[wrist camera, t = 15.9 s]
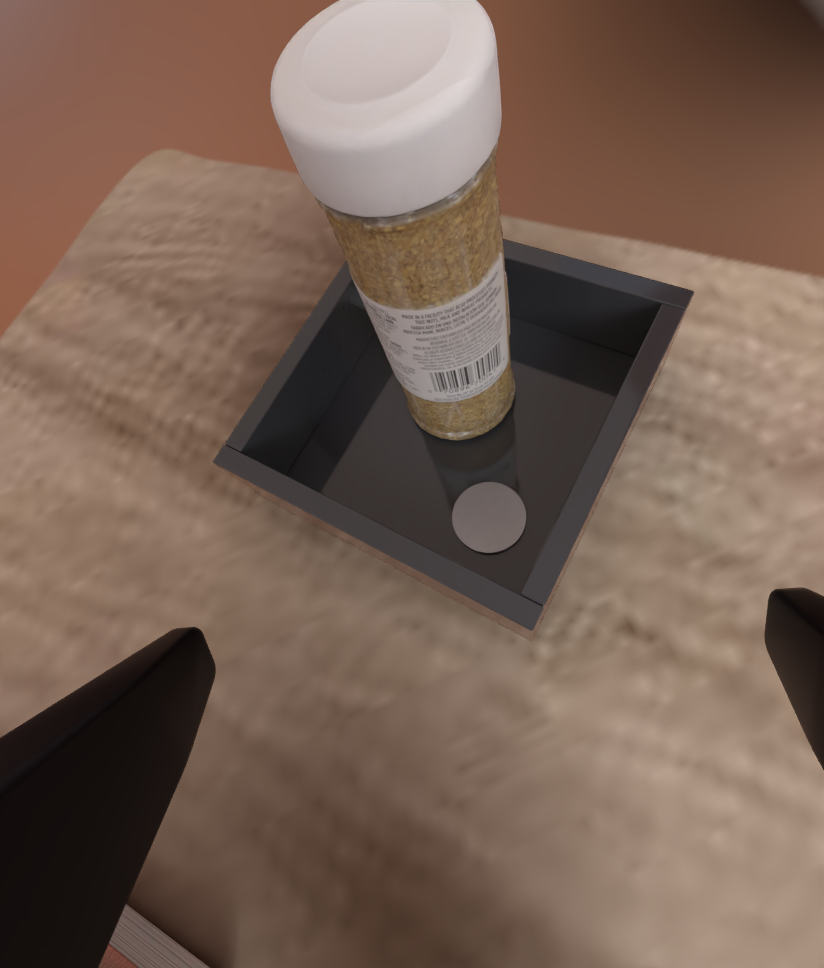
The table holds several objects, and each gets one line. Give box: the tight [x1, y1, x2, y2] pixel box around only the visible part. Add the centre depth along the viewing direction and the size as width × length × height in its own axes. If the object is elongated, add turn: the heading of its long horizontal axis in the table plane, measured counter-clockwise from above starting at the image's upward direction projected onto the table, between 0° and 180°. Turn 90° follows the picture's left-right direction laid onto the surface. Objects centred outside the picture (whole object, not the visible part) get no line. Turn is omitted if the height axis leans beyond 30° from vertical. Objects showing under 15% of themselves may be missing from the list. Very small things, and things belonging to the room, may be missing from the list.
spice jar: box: [270, 0, 515, 441], centre depth 16 cm, size 5×5×13 cm
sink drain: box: [452, 482, 527, 554], centre depth 20 cm, size 3×3×1 cm
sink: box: [213, 239, 694, 641], centre depth 21 cm, size 13×13×4 cm
